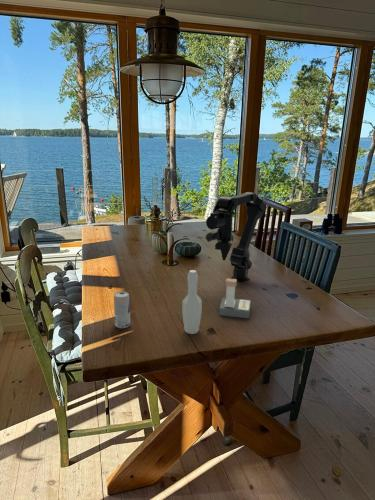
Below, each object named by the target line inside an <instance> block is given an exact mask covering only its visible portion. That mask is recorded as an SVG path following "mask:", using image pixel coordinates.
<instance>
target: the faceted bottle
mask: <svg viewBox="0 0 375 500" xmlns="http://www.w3.org/2000/svg"><path fill="white" fill-rule="evenodd" d="M186 279H187V295H186V296H185V297H184V298H183V300H182V302H181V303H182V306H181V307H182V309H181V312H182V320H183V326H184V327H183V329H184V332H186V334H190V335H194V334H198V332H199V330H200V324H201V320H202V319H201V318H202V317H201V316H202V312H203V311H202V310H203V305H202V304H203V301H202V299H201V297H200V296H199V295H198V281H199V276H198V271H197V270H195V269H194V270H193V269H192V270H191V269H190V270H189V272H188V274H187V276H186Z"/></svg>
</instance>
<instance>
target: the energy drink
mask: <svg viewBox="0 0 375 500" xmlns="http://www.w3.org/2000/svg"><path fill="white" fill-rule="evenodd" d="M113 306H114V307H113V308H114V326H115V327H116V328H118V329H126V328H129V326H131V308H130V307H131V306H130V294H129V292H127V291H124V290H123V291H121V290H120V291H117V292H115V293H114V294H113Z"/></svg>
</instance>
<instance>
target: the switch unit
mask: <svg viewBox="0 0 375 500" xmlns="http://www.w3.org/2000/svg"><path fill="white" fill-rule="evenodd" d="M225 300H226V297H222V299H221V301H220V305H219V313H218V314H219V316H224V317H233V318H241V319H242V318H243V319H250V314H251V312H250V311H251V301H252V300H251V299H240V298H234V300H235V307H234V308H232V307H224V304H225Z"/></svg>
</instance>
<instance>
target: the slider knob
mask: <svg viewBox="0 0 375 500" xmlns="http://www.w3.org/2000/svg"><path fill="white" fill-rule="evenodd" d="M237 282H238V281H237V279H233V278H228V277H227V278H226V279H225V287H226V292H225V298H226V300H225V304H224V307H232V308H234V307H235V300H234V299H236V298H235V295H236V294H235V293H236V288H237Z"/></svg>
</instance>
